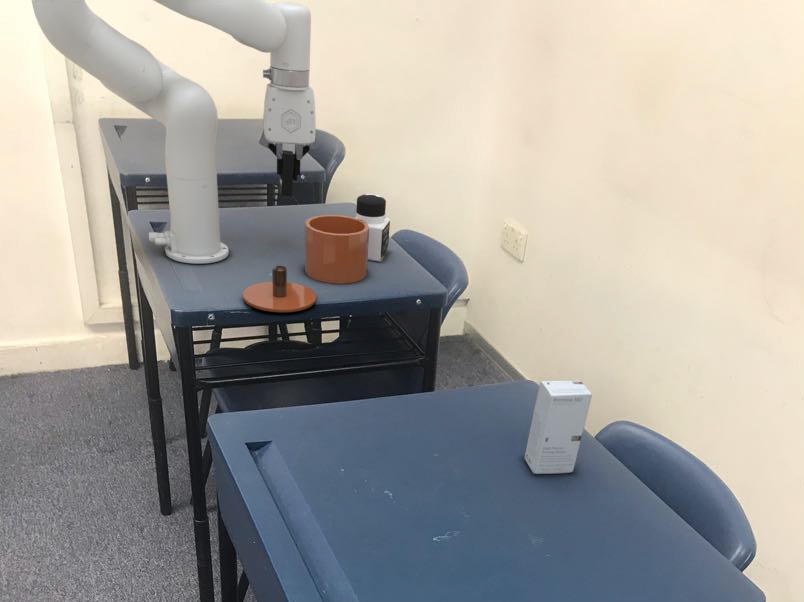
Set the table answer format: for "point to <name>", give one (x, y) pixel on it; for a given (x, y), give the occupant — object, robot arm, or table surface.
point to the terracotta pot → (336, 248)
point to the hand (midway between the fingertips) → (288, 177)
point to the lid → (279, 294)
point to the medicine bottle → (374, 224)
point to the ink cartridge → (287, 174)
